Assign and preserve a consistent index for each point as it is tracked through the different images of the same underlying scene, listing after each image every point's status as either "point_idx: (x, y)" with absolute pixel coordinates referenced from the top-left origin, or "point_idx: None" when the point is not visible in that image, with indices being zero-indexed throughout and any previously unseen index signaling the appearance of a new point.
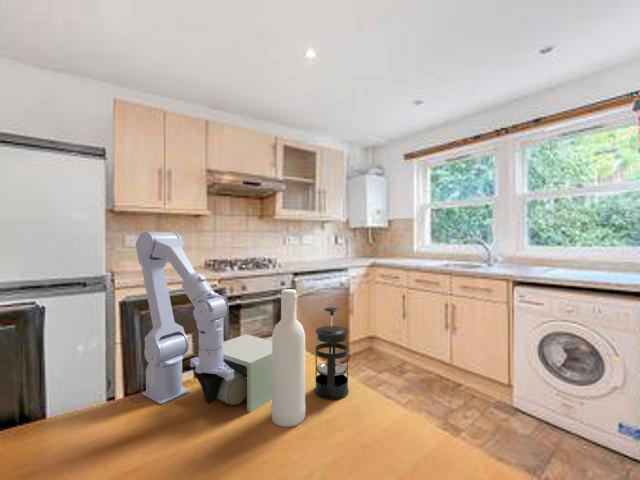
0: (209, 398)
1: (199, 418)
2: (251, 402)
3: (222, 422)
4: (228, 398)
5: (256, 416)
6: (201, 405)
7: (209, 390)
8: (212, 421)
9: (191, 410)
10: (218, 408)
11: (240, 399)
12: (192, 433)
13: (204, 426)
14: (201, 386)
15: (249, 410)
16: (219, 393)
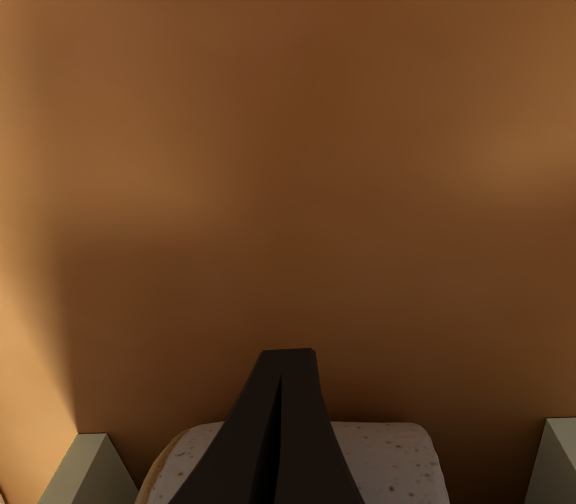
0: (243, 395)
1: (238, 211)
2: (47, 498)
3: (63, 291)
4: (154, 466)
5: (16, 428)
6: (418, 314)
7: (182, 489)
8: (121, 254)
9: (422, 228)
10: None
11: None
12: (33, 48)
13: (87, 180)
14: (353, 498)
15: (80, 441)
16: None
